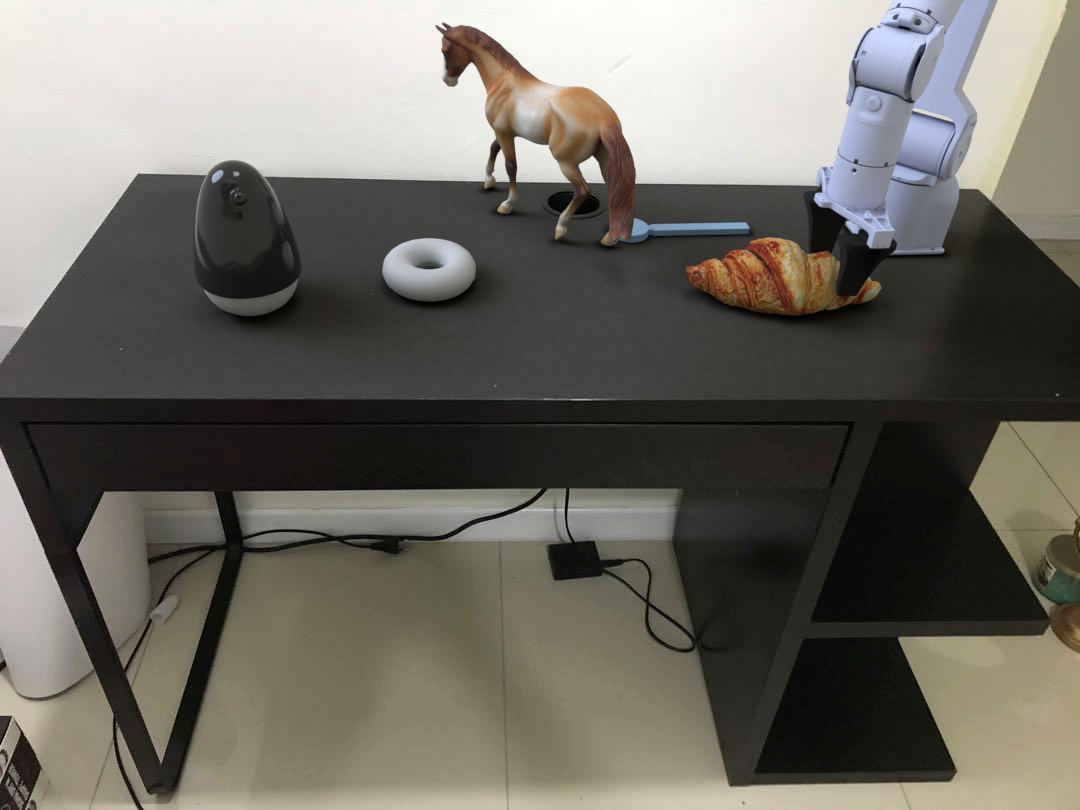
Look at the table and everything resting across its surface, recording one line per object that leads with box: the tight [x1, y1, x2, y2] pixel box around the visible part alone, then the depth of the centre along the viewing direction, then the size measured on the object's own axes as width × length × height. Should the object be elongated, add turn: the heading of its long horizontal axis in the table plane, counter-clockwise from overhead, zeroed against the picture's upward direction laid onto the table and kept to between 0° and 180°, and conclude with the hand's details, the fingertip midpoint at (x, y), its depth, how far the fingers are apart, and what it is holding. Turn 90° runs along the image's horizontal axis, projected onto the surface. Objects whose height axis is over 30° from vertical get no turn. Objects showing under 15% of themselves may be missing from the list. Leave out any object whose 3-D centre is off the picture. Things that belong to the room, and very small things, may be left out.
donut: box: [381, 237, 477, 302], centre depth 97 cm, size 10×4×10 cm
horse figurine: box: [435, 22, 637, 247], centre depth 103 cm, size 31×8×21 cm, turn 45°
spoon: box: [618, 217, 751, 244], centre depth 110 cm, size 17×5×1 cm, turn 98°
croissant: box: [685, 237, 882, 316], centre depth 98 cm, size 21×10×8 cm, turn 91°
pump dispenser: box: [192, 159, 303, 317], centre depth 89 cm, size 10×10×15 cm
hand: (832, 275), depth 98 cm, fingers open, 7 cm apart
